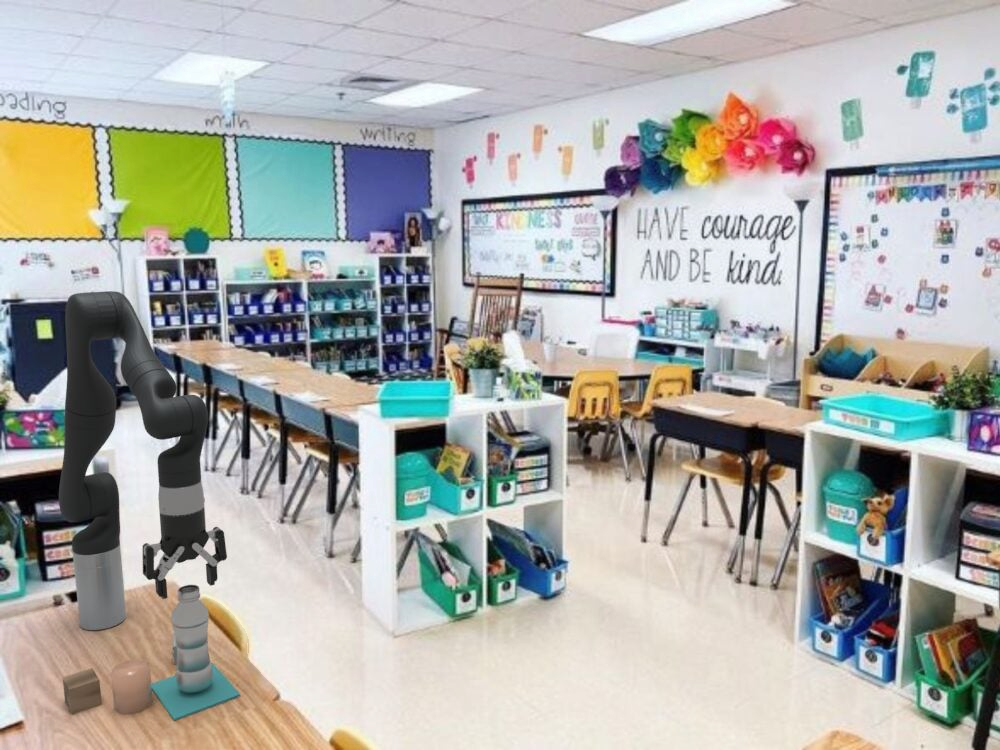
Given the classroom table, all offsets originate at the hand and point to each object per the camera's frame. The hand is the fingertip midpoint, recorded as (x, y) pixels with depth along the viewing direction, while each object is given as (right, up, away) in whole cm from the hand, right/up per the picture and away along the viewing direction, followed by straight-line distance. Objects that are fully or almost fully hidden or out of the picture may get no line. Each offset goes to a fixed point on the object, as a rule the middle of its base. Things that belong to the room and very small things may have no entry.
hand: (187, 590), depth 147 cm
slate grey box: (-7, -18, +16) cm, 25 cm away
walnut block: (-19, -21, 0) cm, 28 cm away
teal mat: (0, -20, +4) cm, 20 cm away
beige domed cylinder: (-10, -21, 0) cm, 23 cm away
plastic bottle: (0, -20, +4) cm, 20 cm away
